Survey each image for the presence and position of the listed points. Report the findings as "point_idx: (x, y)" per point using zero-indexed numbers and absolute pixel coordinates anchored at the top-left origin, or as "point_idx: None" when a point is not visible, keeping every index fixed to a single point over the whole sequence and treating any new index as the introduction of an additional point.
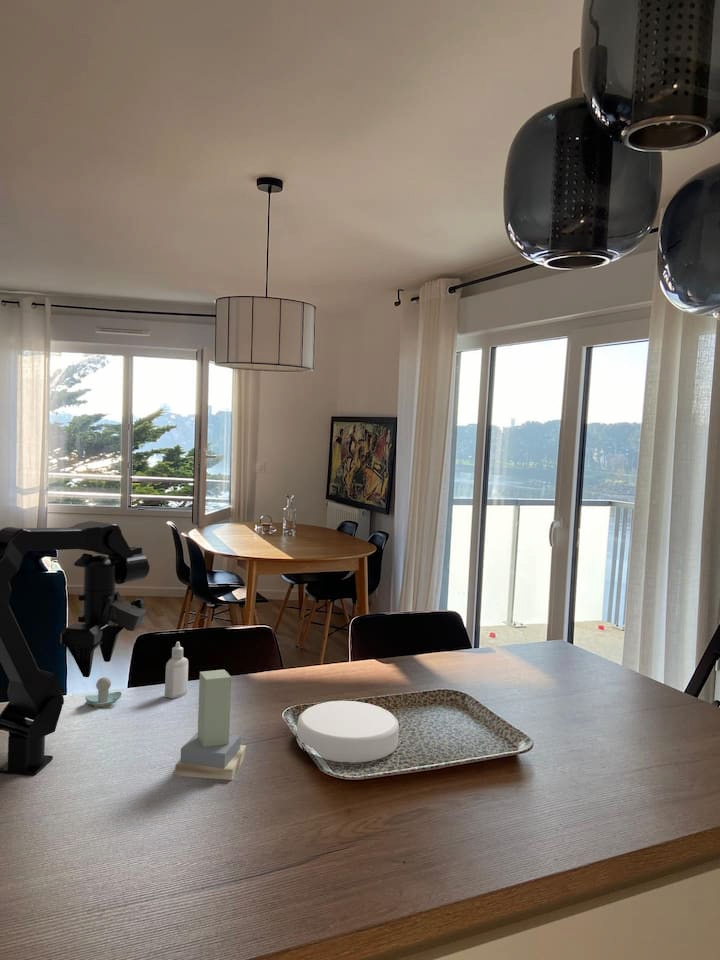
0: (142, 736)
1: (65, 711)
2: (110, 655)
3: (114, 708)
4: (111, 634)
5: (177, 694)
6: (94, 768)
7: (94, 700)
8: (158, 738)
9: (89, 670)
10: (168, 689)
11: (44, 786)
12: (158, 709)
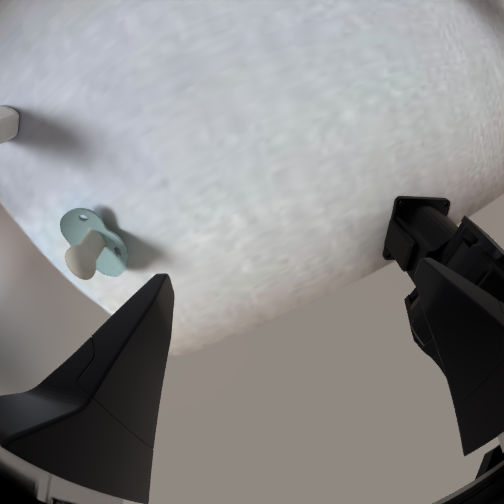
0: (247, 45)
1: None
2: (158, 295)
3: (104, 200)
4: (106, 427)
5: (7, 109)
6: (425, 104)
7: (107, 254)
8: (250, 5)
9: (456, 273)
10: (6, 128)
11: (473, 169)
12: (72, 100)
